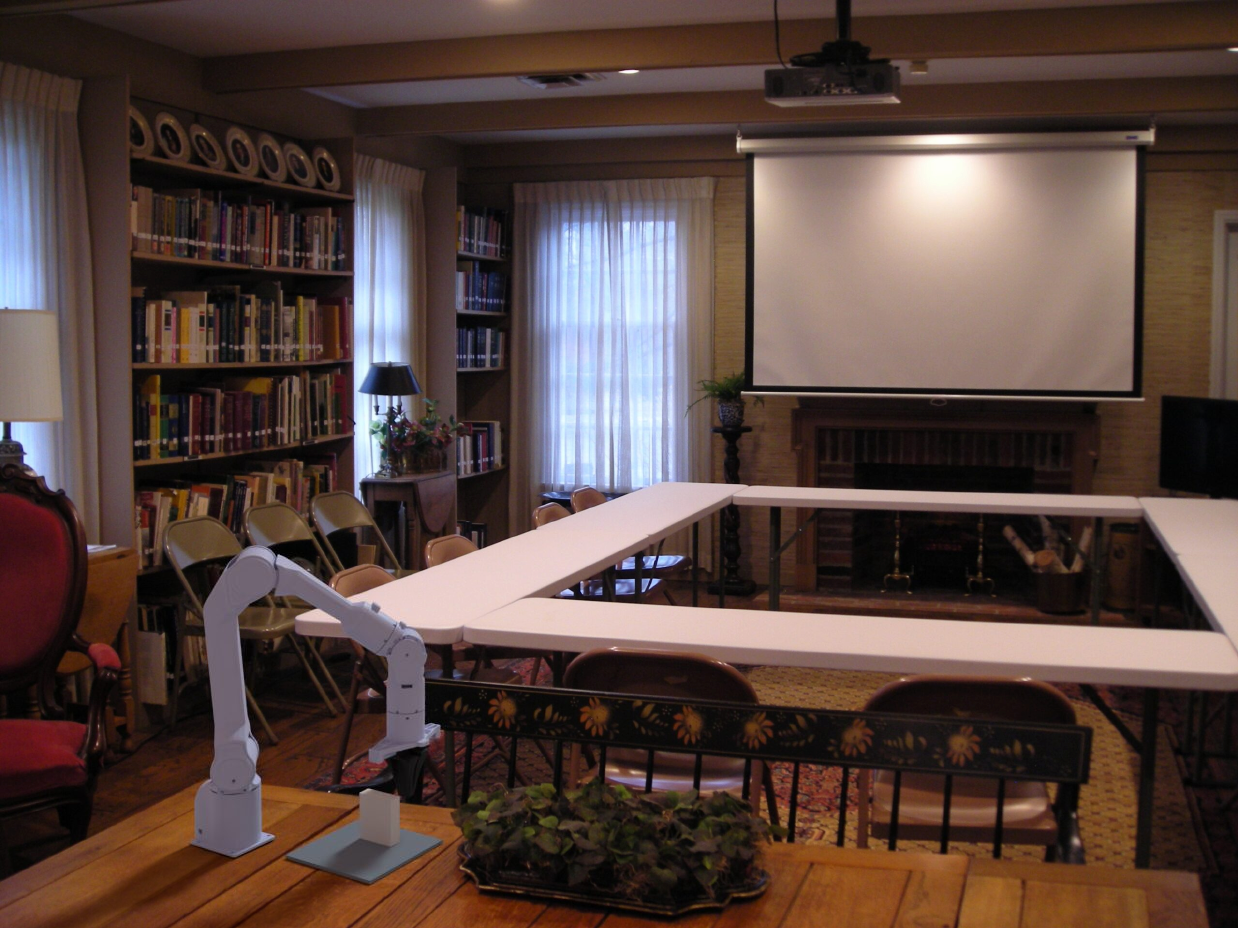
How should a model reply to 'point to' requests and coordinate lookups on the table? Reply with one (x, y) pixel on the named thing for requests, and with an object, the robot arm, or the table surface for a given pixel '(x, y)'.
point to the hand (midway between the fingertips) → (405, 795)
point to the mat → (362, 853)
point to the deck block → (379, 817)
